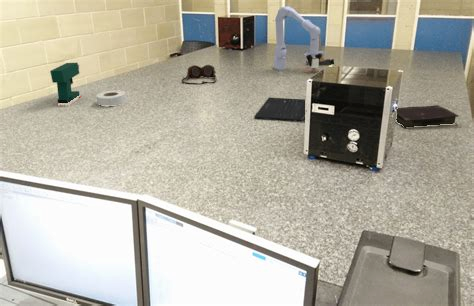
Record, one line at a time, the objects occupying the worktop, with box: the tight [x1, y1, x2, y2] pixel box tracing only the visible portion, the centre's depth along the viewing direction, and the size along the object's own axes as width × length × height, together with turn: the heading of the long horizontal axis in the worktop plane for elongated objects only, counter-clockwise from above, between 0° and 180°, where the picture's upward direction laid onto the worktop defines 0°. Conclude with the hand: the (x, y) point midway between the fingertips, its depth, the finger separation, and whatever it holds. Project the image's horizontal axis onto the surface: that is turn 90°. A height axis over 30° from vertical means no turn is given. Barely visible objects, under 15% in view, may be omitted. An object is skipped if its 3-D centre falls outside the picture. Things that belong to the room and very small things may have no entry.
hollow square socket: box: [307, 57, 320, 69], centre depth 278 cm, size 5×5×6 cm
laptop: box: [254, 97, 306, 122], centre depth 202 cm, size 33×38×19 cm
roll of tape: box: [96, 90, 127, 105], centre depth 228 cm, size 16×16×6 cm
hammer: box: [305, 25, 335, 67], centre depth 295 cm, size 20×5×30 cm, turn 79°
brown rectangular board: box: [296, 66, 321, 75], centre depth 284 cm, size 18×12×4 cm, turn 23°
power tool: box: [49, 62, 81, 104], centre depth 236 cm, size 32×7×20 cm, turn 178°
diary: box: [396, 104, 460, 129], centre depth 187 cm, size 19×25×5 cm
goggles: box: [181, 64, 217, 85], centre depth 270 cm, size 24×24×10 cm
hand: (313, 65), depth 278 cm, fingers closed on hollow square socket, 5 cm apart
